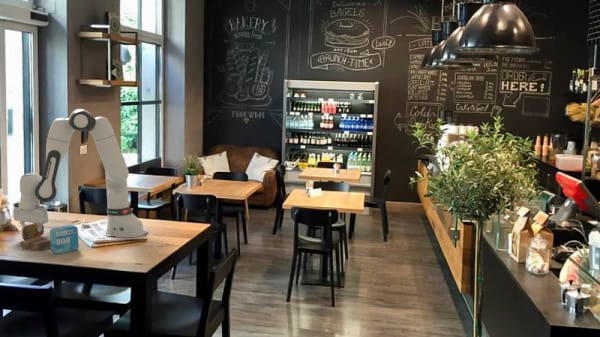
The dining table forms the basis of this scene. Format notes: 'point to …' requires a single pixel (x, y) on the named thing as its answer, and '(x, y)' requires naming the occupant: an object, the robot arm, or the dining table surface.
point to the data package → (64, 239)
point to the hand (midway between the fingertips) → (31, 230)
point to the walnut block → (37, 242)
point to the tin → (31, 231)
